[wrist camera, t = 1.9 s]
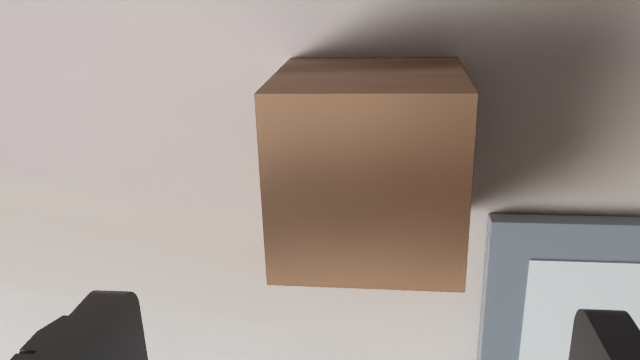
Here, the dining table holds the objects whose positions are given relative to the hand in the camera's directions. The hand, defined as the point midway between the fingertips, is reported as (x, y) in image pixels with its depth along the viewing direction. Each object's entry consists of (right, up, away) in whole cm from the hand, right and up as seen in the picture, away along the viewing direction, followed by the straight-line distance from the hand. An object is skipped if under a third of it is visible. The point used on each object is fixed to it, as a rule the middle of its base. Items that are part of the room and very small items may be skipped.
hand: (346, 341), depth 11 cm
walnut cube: (+1, +5, +12) cm, 13 cm away
